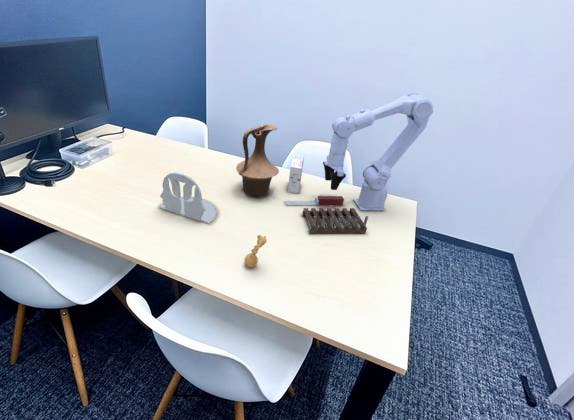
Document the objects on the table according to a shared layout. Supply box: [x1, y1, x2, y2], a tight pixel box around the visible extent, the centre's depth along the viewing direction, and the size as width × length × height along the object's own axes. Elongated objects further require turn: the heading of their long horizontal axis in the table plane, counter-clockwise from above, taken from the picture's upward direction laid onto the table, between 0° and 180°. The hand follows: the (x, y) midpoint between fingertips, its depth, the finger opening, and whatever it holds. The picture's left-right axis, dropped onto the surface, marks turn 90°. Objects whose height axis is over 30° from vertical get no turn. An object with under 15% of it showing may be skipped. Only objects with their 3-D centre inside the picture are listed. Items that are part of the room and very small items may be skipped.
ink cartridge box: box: [287, 154, 305, 194], centre depth 139 cm, size 9×5×15 cm, turn 168°
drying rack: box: [301, 207, 369, 235], centre depth 119 cm, size 20×13×7 cm, turn 95°
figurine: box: [244, 234, 267, 268], centre depth 96 cm, size 8×6×12 cm
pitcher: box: [235, 124, 280, 198], centre depth 131 cm, size 18×17×28 cm
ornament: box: [158, 172, 217, 225], centre depth 121 cm, size 22×13×17 cm, turn 65°
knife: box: [285, 195, 345, 207], centre depth 132 cm, size 23×3×3 cm, turn 95°
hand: (330, 184), depth 128 cm, fingers open, 7 cm apart
